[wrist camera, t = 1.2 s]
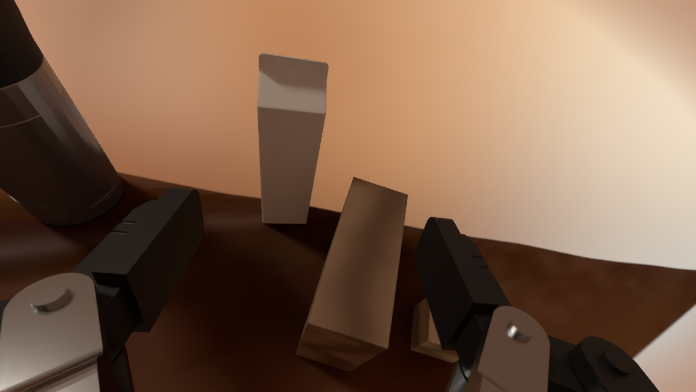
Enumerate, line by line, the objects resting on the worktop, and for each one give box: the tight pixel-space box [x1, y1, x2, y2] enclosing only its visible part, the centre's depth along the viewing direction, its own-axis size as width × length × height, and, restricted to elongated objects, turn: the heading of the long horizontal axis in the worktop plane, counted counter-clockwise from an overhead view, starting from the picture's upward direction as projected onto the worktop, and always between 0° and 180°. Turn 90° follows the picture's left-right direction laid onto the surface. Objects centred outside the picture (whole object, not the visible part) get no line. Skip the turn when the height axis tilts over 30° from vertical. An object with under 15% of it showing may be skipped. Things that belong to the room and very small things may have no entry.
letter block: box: [410, 298, 459, 363], centre depth 32 cm, size 5×5×5 cm
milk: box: [257, 53, 328, 224], centre depth 33 cm, size 6×6×22 cm
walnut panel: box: [295, 177, 408, 372], centre depth 30 cm, size 6×15×13 cm, turn 166°
